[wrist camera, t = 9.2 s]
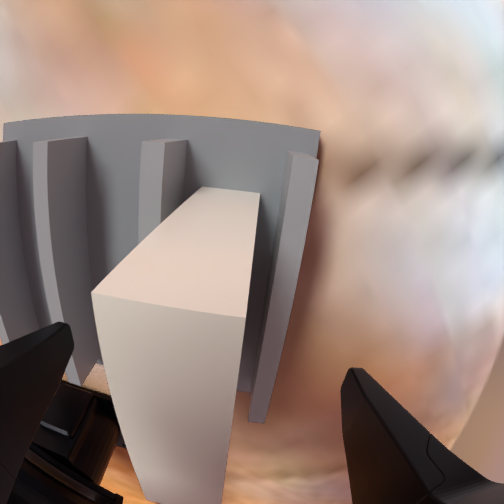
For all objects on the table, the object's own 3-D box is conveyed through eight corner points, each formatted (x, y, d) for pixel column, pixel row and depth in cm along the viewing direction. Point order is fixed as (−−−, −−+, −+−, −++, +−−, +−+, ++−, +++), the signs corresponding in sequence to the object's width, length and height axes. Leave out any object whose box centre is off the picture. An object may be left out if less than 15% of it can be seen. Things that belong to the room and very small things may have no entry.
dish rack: (269, 385, 18) (269, 435, 14) (37, 335, 18) (8, 368, 14) (317, 131, 12) (336, 130, 9) (13, 122, 12) (-36, 128, 9)
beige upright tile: (240, 350, 16) (219, 513, 7) (193, 343, 16) (146, 500, 7) (260, 193, 13) (245, 317, 4) (202, 186, 13) (90, 292, 4)
